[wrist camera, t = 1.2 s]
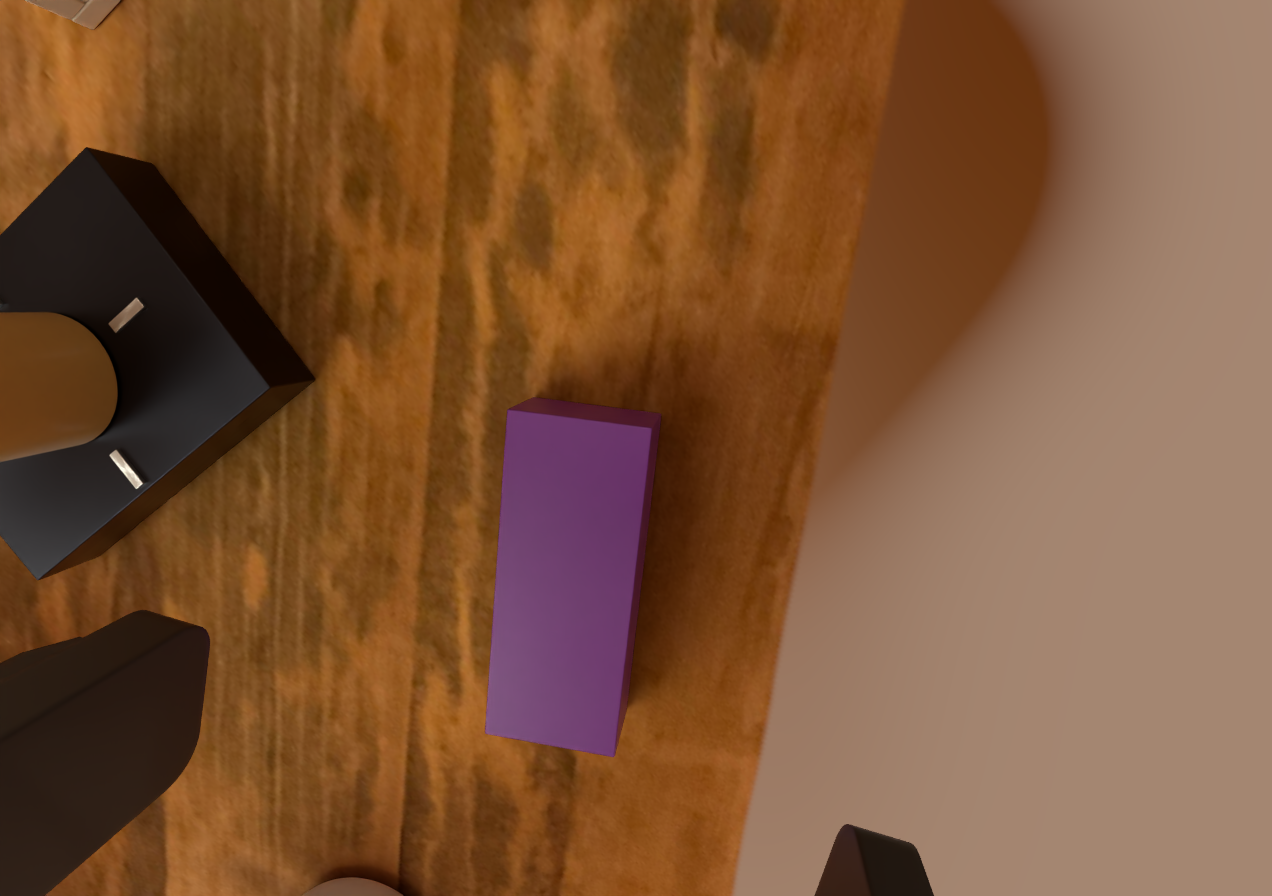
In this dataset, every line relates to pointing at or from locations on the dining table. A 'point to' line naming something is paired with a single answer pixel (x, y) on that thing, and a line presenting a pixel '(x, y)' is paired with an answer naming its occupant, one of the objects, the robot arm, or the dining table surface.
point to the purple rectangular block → (569, 571)
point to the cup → (352, 888)
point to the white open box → (79, 10)
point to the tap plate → (133, 355)
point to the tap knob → (51, 384)
